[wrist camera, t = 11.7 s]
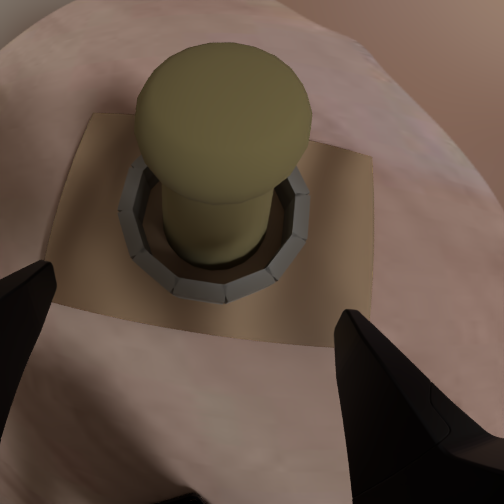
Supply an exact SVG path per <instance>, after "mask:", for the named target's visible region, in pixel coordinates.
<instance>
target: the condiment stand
mask: <svg viewBox="0 0 504 504" xmlns="http://www.w3.org/2000/svg"><path fill="white" fill-rule="evenodd" d="M134 123H135V115H134V114H114V113H93V115H92V117H91V119H90V121H89V123H88V126H87V128H86V130H85V133H84V135H83V137H82V140H81V142H80V145H79V147H78V150H77V152H76V155H75V157H74V160H73V163H72V166H71V168H70V171H69V174H68V177H67V180H66V183H65V186H64V189H63V192H62V195H61V198H60V201H59V205H58V208H57V211H56V215H55V218H54V222H53V226H52V230H51V233H50V237H49V241H48V246H47V250H46V254H45V259H44V260H45V261H49V262H51V263H52V264H53V267H54V272H55V277H56V281H57V289H56V292H55V295H54V297H53V300H52V302H53V303H57V304H61V305H64V306H68V307H72V308H76V309H80V310H84V311H89V312H93V313H97V314H101V315H106V316H110V317H115V318H120V319H124V320H129V321H134V322H139V323H144V324H149V325H155V326H160V327H166V328H171V329H177V330H183V331H189V332H195V333H202V334H209V335H215V336H223V337H230V338H238V339H246V340H254V341H263V342H272V343H282V344H293V345H304V346H317V347H332V348H334V329H335V326H336V324H337V322H338V320H339V318H340V316H341V314H342V312H343V311H344V310H345V309H355V310H358V311H359V312H360V313H361V314H362V315H363V316H365V317H366V318H367V319H368V320H369V321H370V310H371V297H372V280H373V257H374V187H373V164H372V157H371V156H367V155H364V154H360V153H357V152H353V151H350V150H346V149H342V148H338V147H335V146H331V145H327V144H323V143H319V142H314V141H310V140H309V143H308V147H307V149H306V150H305V152H304V154H303V155H302V157H301V159H300V160H299V162H298V163H297V165H296V167H295V168H294V170H293V172H292V173H291V175H290V176H289V177H287V178H286V179H285V180H284V181H282V182H281V183H280V184H278V185H277V186H276V187H275V188H274V190H273V196H272V202H271V208H270V214H269V220H268V226H267V231H266V235H265V239H264V240H263V242H262V244H261V246H260V247H259V249H258V251H257V252H256V253H255V254H254V255H253V256H251V257H250V258H249V259H248V260H247V261H246V262H244V263H242V264H240V265H238V266H235V267H233V268H230V269H226V270H213V271H210V270H206V269H202V268H198V267H194V266H192V265H191V264H189V263H187V262H186V261H184V260H183V259H181V258H180V257H179V256H178V255H177V254H176V253H175V251H174V250H173V249H172V248H171V247H170V245H169V243H168V241H167V238H166V235H165V233H164V230H163V210H162V183H161V182H160V181H159V179H158V178H157V177H156V176H155V175H154V173H153V172H152V171H151V170H150V169H149V167H148V166H147V165H146V164H145V162H144V160H143V157H142V155H141V152H140V149H139V146H138V143H137V140H136V136H135V133H134Z"/></svg>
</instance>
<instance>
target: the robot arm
mask: <svg viewBox="0 0 504 504" xmlns="http://www.w3.org/2000/svg"><path fill="white" fill-rule="evenodd" d="M56 289H57V281H56V277H55V272H54V267H53V264H52V263H51V262H49V261H45V260H39V261H37V262H35V263H33V264H31V265H29V266H27V267H25V268H22V269H20V270H18V271H16V272H14V273H12V274H10V275H8V276H6V277H4V278H2V279H0V442H1V437H2V434H3V430H4V427H5V423H6V420H7V417H8V414H9V411H10V408H11V405H12V402H13V399H14V396H15V393H16V390H17V388H18V385H19V382H20V380H21V377H22V374H23V372H24V369H25V367H26V364H27V362H28V359H29V357H30V355H31V352H32V350H33V348H34V345H35V343H36V341H37V339H38V337H39V334H40V332H41V330H42V327H43V324H44V322H45V319H46V316H47V313H48V311H49V308H50V305H51V303H52V300H53V297H54V295H55V292H56ZM334 348H335V366H336V379H337V386H338V392H339V398H340V405H341V411H342V418H343V425H344V432H345V439H346V447H347V455H348V463H349V472H350V481H351V490H352V502H353V504H504V438H499V437H496V436H493V435H491V434H490V433H488V432H487V431H485V430H484V429H483V428H482V427H481V426H479V425H478V424H477V423H476V422H475V421H474V420H473V419H471V418H470V417H469V416H468V415H467V414H466V413H464V412H463V411H462V410H461V409H460V408H459V407H458V406H456V405H455V404H454V403H453V402H452V401H451V400H450V399H449V398H448V397H447V396H446V395H445V394H444V393H443V392H441V391H440V390H439V389H438V388H437V387H436V386H435V385H434V384H433V383H432V382H431V381H430V380H429V379H428V378H427V377H426V376H425V375H424V374H423V373H422V372H421V371H420V370H419V369H418V368H417V367H416V366H415V365H414V364H413V363H412V362H411V361H410V360H409V359H408V358H407V357H406V356H405V355H404V354H403V353H402V352H401V351H400V350H399V349H398V348H397V347H396V346H395V345H394V344H393V343H392V342H391V341H390V340H389V339H388V338H387V337H385V336H384V335H383V334H382V333H381V332H380V331H379V330H378V329H377V328H376V327H375V326H374V325H373V324H372V323H371V322H370V321H369V320H368V319H367V318H366V317H365V316H363V315H362V314H361V313H360V312H359V311H358V310H355V309H345V310H344V311H343V312H342V314H341V316H340V318H339V320H338V322H337V324H336V326H335V329H334ZM190 499H196V500H197V501H191V500H190ZM156 504H206V503H205V502H204V501H203V499H202V498H201V497H200V496H199V495H198V494H196V493H189V494H186V495H183V496H180V497H176V498H173V499H170V500H166V501H163V502H159V503H156Z"/></svg>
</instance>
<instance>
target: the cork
mask: <svg viewBox="0 0 504 504" xmlns="http://www.w3.org/2000/svg"><path fill="white" fill-rule="evenodd" d="M311 121H312V111H311V107H310V103H309V99H308V96H307V93H306V91H305V88H304V86H303V84H302V83H301V81H300V80H299V78H298V77H297V76H296V74H295V73H294V71H293V70H292V69H291V68H290V67H289V66H288V65H286V64H285V63H284V62H283V61H281V60H280V59H279V58H277V57H276V56H275V55H272V54H270V53H268V52H266V51H263V50H261V49H259V48H256V47H253V46H248V45H243V44H238V43H207V44H202V45H198V46H194V47H190V48H187V49H185V50H183V51H181V52H179V53H177V54H175V55H173V56H171V57H169V58H168V59H167V60H165V61H164V62H163V63H162V64H161V65H160V66H159V67H157V68H156V69H155V70H154V71H153V73H152V74H151V76H150V77H149V78H148V80H147V82H146V83H145V85H144V87H143V89H142V91H141V92H140V94H139V96H138V98H137V105H136V113H135V123H134V133H135V136H136V140H137V143H138V146H139V149H140V152H141V155H142V157H143V160H144V162H145V164H146V165H147V166H148V167H149V169H150V170H151V171H152V172H153V173H154V175H155V176H156V177H157V178H158V179H159V181H160V182H161V183H162V210H163V230H164V233H165V235H166V238H167V241H168V243H169V245H170V247H171V248H172V249H173V250H174V251H175V253H176V254H177V255H178V256H179V257H180V258H181V259H183V260H184V261H186V262H187V263H189V264H191V265H192V266H194V267H198V268H202V269H206V270H210V271H213V270H226V269H230V268H233V267H235V266H238V265H240V264H242V263H244V262H246V261H247V260H248V259H249V258H250V257H251V256H253V255H254V254H255V253H256V252H257V251H258V249H259V247H260V246H261V244H262V242H263V240H264V239H265V235H266V231H267V226H268V220H269V214H270V208H271V202H272V196H273V190H274V188H275V187H276V186H277V185H278V184H280V183H281V182H282V181H284V180H285V179H286V178H287V177H289V176H290V175H291V173H292V172H293V170H294V168H295V167H296V165H297V163H298V162H299V160H300V159H301V157H302V155H303V154H304V152H305V150H306V149H307V147H308V143H309V136H310V129H311Z"/></svg>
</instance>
